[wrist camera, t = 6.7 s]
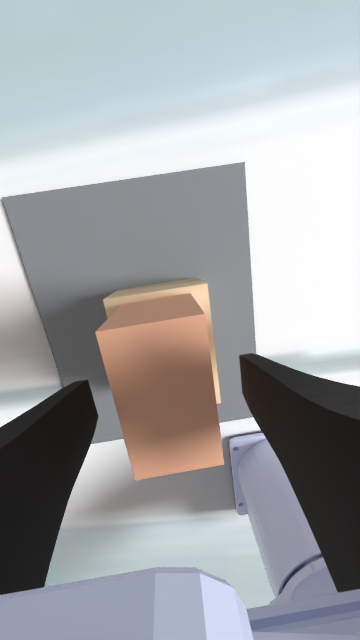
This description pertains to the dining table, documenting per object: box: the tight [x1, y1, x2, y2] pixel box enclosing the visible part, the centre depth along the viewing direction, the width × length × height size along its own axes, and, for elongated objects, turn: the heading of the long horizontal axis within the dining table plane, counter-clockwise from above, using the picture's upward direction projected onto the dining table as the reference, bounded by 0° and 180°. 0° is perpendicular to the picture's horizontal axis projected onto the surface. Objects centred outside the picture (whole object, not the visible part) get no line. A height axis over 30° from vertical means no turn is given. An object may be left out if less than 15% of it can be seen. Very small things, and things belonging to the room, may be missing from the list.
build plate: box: [2, 162, 256, 444], centre depth 18 cm, size 20×16×1 cm
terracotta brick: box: [95, 293, 224, 480], centre depth 11 cm, size 7×4×5 cm, turn 9°
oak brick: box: [103, 278, 221, 404], centre depth 16 cm, size 8×6×4 cm
